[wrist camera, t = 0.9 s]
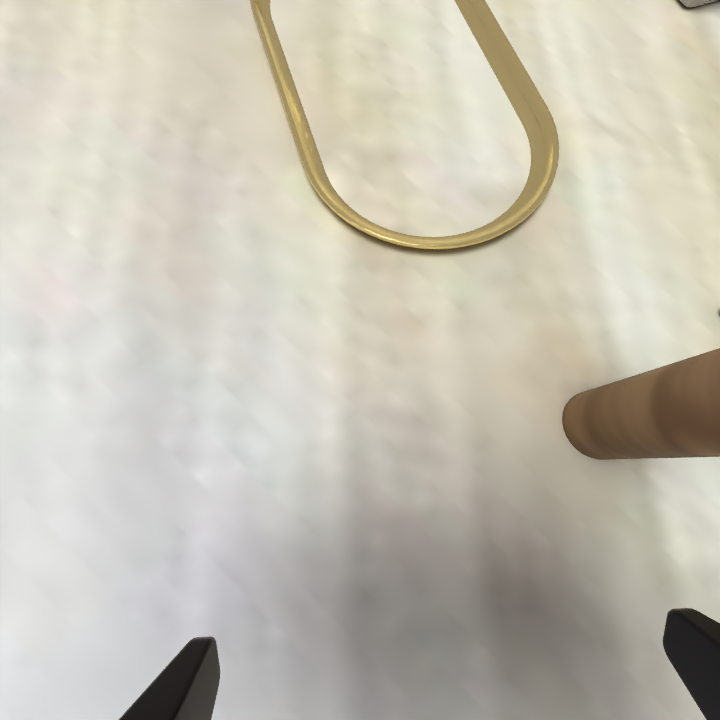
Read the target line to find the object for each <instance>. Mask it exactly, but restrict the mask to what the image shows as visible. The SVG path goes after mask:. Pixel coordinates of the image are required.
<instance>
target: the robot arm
mask: <svg viewBox="0 0 720 720" xmlns="http://www.w3.org/2000/svg"><path fill="white" fill-rule="evenodd" d="M663 646H664V650H665V652H666V655H667V657H668V658H669V660H670V662H671V663H672V665H673V666H674V668H675V670H676V671H677V673H678V675H679V676H680V678H681V679H682V681H683V683H684V684H685V686H686V687H687V689H688V691H689V692H690V694H691V695H692V697H693V699H694V700H695V702H696V704H697V705H698V707H699V708H700V710H701V712H702V713H703V715H704V716H705V718H706V720H720V623H718V622H716V621H714V620H713V619H711V618H709V617H707V616H706V615H704V614H702V613H700V612H698V611H696V610H694V609H690V608H681V609H671V610H670V611H669V612H668V614H667V619H666V625H665V631H664V636H663ZM219 680H220V666H219V659H218V652H217V645H216V640H215V638H214V637H197V638H193V639H192V640H190V641H189V642H188V643H187V644H186V646H185V647H184V648H183V649H182V650H181V651H180V652H179V653H178V654H177V656H176V657H175V658H174V659H173V660H172V661H171V662H170V663H169V664H168V666H167V667H166V668H165V669H164V670H163V671H162V672H161V673H160V674H159V676H158V677H157V678H156V679H155V680H154V681H153V682H152V683H151V684H150V686H149V687H148V688H147V689H146V690H145V691H144V692H143V693H142V695H141V696H140V697H139V698H138V699H137V700H136V701H135V702H134V703H133V705H132V706H131V707H130V708H129V709H128V710H127V711H126V712H125V713H124V715H123V716H122V717H121V718H120V719H119V720H211V718H212V713H213V709H214V704H215V700H216V695H217V691H218V686H219Z"/></svg>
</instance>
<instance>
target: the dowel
mask: <svg viewBox="0 0 720 720" xmlns="http://www.w3.org/2000/svg"><path fill="white" fill-rule="evenodd" d="M563 428H564V431H565V434H566V436H567V438H568V439H569V441H570V442H571V444H572V445H573V446H574V447H575V448H576V449H577V450H578V451H580V452H581V453H583V454H584V455H586V456H589V457H591V458H595V459H640V458H681V457H720V348H719V349H716V350H713V351H710V352H707V353H703V354H700V355H697V356H694V357H691V358H688V359H685V360H682V361H679V362H675V363H672V364H669V365H666V366H663V367H660V368H657V369H654V370H651V371H648V372H644V373H641V374H638V375H635V376H632V377H629V378H626V379H623V380H620V381H617V382H613V383H610V384H607V385H604V386H601V387H598V388H595V389H592V390H589V391H586V392H582V393H580V394H577V395H575V396H574V397H573V398H571V399H570V400H569V402H568V403H567V404H566V406H565V409H564V412H563Z"/></svg>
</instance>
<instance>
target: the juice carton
mask: <svg viewBox="0 0 720 720" xmlns="http://www.w3.org/2000/svg"><path fill="white" fill-rule="evenodd" d="M680 1H681V2H682V3H683V4H684V5H685V6H686V7H695V6H700V5H704V4H708V3H711V2H715V1H720V0H680Z"/></svg>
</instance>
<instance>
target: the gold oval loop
mask: <svg viewBox="0 0 720 720" xmlns="http://www.w3.org/2000/svg"><path fill="white" fill-rule="evenodd" d="M455 2H456V4H457V6H458V7H459V9H460V11H461V13H462V15H463V17H464V18H465V20H466V22H467V24H468V26H469V27H470V29H471V31H472V33H473V35H474V37H475V38H476V40H477V42H478V44H479V46H480V48H481V49H482V51H483V53H484V55H485V57H486V58H487V60H488V62H489V64H490V66H491V68H492V69H493V71H494V73H495V75H496V77H497V79H498V80H499V82H500V84H501V86H502V88H503V89H504V91H505V93H506V95H507V97H508V99H509V100H510V102H511V104H512V106H513V108H514V110H515V111H516V113H517V115H518V117H519V119H520V120H521V122H522V124H523V126H524V128H525V131H526V133H527V136H528V139H529V143H530V148H531V167H530V173H529V177H528V180H527V183H526V185H525V187H524V189H523V191H522V193H521V195H520V196H519V198H518V199H517V200H516V202H515V203H514V204H513V205H512V206H511V207H510V208H509V209H508V210H507V211H506V212H505V213H504V214H502V215H501V216H500V217H498V218H497V219H495V220H494V221H492V222H491V223H489V224H487V225H485V226H483V227H481V228H478V229H476V230H473V231H470V232H467V233H463V234H458V235H453V236H446V237H419V236H411V235H406V234H402V233H398V232H394V231H391V230H388V229H386V228H383V227H381V226H378V225H376V224H374V223H372V222H370V221H369V220H367V219H365V218H364V217H362V216H361V215H359V214H358V213H357V212H355V211H354V210H353V209H352V208H350V207H349V206H348V205H347V204H346V203H345V202H344V201H343V200H342V199H341V198H340V196H339V195H338V194H337V192H336V191H335V190H334V188H333V187H332V185H331V183H330V181H329V179H328V177H327V175H326V173H325V170H324V167H323V164H322V161H321V158H320V155H319V153H318V150H317V147H316V144H315V141H314V138H313V135H312V133H311V130H310V127H309V124H308V121H307V118H306V115H305V113H304V110H303V107H302V104H301V101H300V98H299V95H298V93H297V90H296V87H295V84H294V81H293V78H292V75H291V73H290V70H289V67H288V64H287V61H286V58H285V55H284V53H283V50H282V47H281V44H280V41H279V38H278V35H277V33H276V30H275V27H274V24H273V21H272V18H271V13H270V0H250V3H251V8H252V11H253V14H254V17H255V20H256V23H257V27H258V30H259V33H260V36H261V39H262V42H263V45H264V48H265V51H266V54H267V57H268V60H269V63H270V66H271V69H272V72H273V75H274V78H275V81H276V84H277V87H278V90H279V94H280V97H281V100H282V103H283V106H284V109H285V112H286V115H287V118H288V121H289V124H290V127H291V130H292V133H293V136H294V139H295V142H296V145H297V148H298V151H299V154H300V157H301V161H302V164H303V167H304V169H305V172H306V174H307V176H308V179H309V180H310V182H311V184H312V186H313V187H314V189H315V190H316V192H317V193H318V195H319V196H320V197H321V199H322V200H323V201H324V202H325V203H326V204H327V205H328V206H329V207H330V208H331V209H332V210H333V211H334V212H335V213H336V214H337V215H338V216H340V217H341V218H342V219H344V220H345V221H346V222H348V223H349V224H351V225H353V226H354V227H356V228H357V229H359V230H361V231H363V232H365V233H367V234H369V235H371V236H373V237H376V238H378V239H381V240H383V241H387V242H390V243H393V244H397V245H401V246H406V247H412V248H420V249H451V248H459V247H465V246H470V245H474V244H478V243H481V242H484V241H487V240H490V239H492V238H495V237H497V236H499V235H502V234H503V233H505V232H507V231H509V230H511V229H512V228H514V227H515V226H517V225H518V224H519V223H521V222H522V221H523V220H525V219H526V218H527V217H528V216H529V215H530V214H531V213H532V212H533V211H534V210H535V209H536V208H537V207H538V206H539V204H540V203H541V202H542V200H543V199H544V197H545V196H546V194H547V192H548V191H549V189H550V187H551V185H552V182H553V180H554V177H555V174H556V170H557V166H558V159H559V142H558V135H557V130H556V126H555V123H554V121H553V118H552V115H551V113H550V111H549V109H548V107H547V106H546V104H545V102H544V100H543V99H542V97H541V95H540V94H539V92H538V90H537V89H536V87H535V85H534V83H533V82H532V80H531V78H530V77H529V75H528V73H527V71H526V70H525V68H524V66H523V65H522V63H521V61H520V60H519V58H518V56H517V54H516V53H515V51H514V49H513V48H512V46H511V44H510V42H509V41H508V39H507V37H506V36H505V34H504V32H503V31H502V29H501V27H500V25H499V24H498V22H497V20H496V19H495V17H494V15H493V13H492V12H491V10H490V8H489V7H488V5H487V3H486V2H485V0H455ZM274 52H275V53H274ZM275 55H276V56H275ZM276 58H277V59H276ZM277 61H278V62H277ZM278 64H279V65H278ZM279 67H280V68H279ZM280 70H281V71H280ZM281 73H282V74H281ZM303 138H304V139H303ZM304 141H305V142H304ZM305 144H306V145H305ZM306 147H307V148H306ZM307 150H308V151H307ZM308 153H309V154H308ZM309 156H310V157H309ZM310 159H311V160H310ZM311 162H312V163H311ZM320 183H321V184H320ZM323 188H324V189H323ZM336 204H337V205H336ZM356 220H357V221H356Z"/></svg>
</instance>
